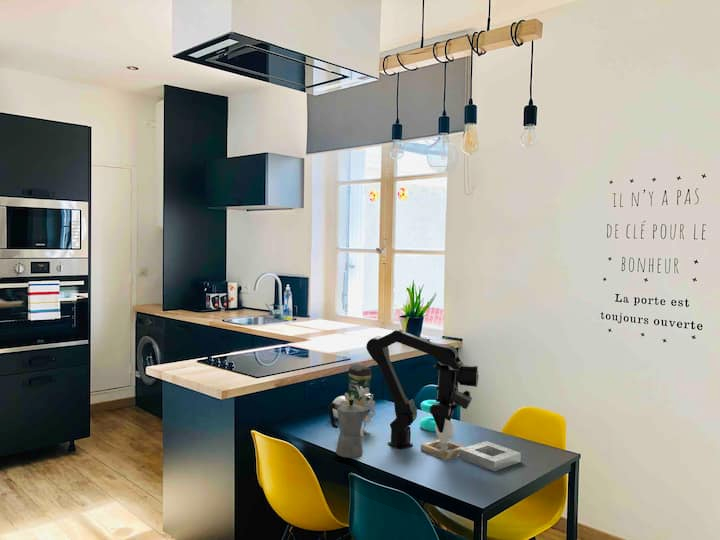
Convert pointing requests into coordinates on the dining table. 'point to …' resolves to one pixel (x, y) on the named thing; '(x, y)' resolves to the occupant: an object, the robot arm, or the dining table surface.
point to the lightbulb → (445, 435)
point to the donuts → (427, 422)
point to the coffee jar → (359, 380)
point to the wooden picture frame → (432, 449)
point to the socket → (498, 461)
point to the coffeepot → (348, 428)
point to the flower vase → (345, 401)
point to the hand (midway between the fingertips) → (444, 428)
